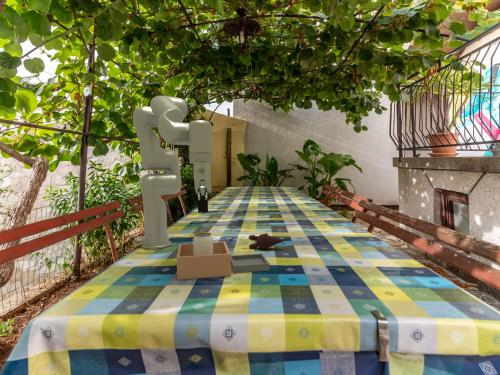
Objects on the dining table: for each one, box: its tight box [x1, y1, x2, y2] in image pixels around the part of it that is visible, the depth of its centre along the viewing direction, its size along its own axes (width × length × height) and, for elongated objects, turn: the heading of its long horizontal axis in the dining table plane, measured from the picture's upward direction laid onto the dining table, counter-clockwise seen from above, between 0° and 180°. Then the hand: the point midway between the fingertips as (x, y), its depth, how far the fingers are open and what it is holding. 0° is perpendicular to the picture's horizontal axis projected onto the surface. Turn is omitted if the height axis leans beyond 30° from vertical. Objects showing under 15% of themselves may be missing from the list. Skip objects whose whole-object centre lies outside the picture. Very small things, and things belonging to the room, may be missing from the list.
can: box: [192, 231, 214, 256], centre depth 107 cm, size 6×6×12 cm
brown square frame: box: [176, 241, 232, 281], centre depth 107 cm, size 17×17×7 cm
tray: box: [231, 253, 271, 274], centre depth 110 cm, size 12×12×2 cm
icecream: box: [248, 232, 285, 251], centre depth 131 cm, size 7×7×15 cm
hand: (202, 210), depth 105 cm, fingers open, 9 cm apart
